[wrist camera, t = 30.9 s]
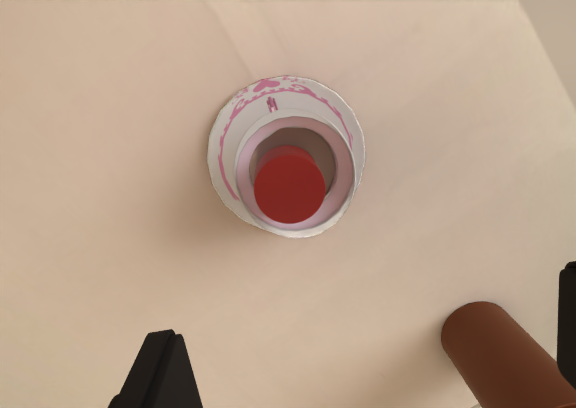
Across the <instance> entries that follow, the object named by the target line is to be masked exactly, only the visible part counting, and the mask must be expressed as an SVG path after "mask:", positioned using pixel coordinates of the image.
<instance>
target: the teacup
mask: <svg viewBox="0 0 576 408" xmlns="http://www.w3.org/2000/svg"><path fill="white" fill-rule="evenodd" d="M283 145H291V146H296V147H299V148H301V149H303V150H305V151H306V152H307V153H309V154H310V155H311V157H312V158H313V159H314V161H315V163H316V164H317V166H318V168H319V169H320V171H321V173H322V175H323V177H324V181H325V187H326V189H325V197H324V200H323V203H322V205H321V206H320V208H319V209H318V211H317V212H316V213H315V214H314V215H313V216H311V217H310V218H308V219H307V220H305V221H302V222H299V223H294V224H284V223H279V222H276V221H274V220H272V219H270V218H269V217H267V216H266V215H265V214H264V213H263V212H262V211H261V210H260V208H259V207H258V205H257V203H256V200H255V196H254V179H255V170H256V167H257V164H258V162H259V160H260V159H261V158H262V156H263V155H264V154H265V153H267V152H268V151H269V150H271V149H273V148H275V147H278V146H283ZM365 159H366V155H365V145H364V135H363V132H362V129H361V127H360V125H359V123H358V120H357V118H356V116H355V114H354V112H353V110H352V109H351V108H350V107H349V106H348V105H347V103H346V102H345V101H344V100H343V99H342V98H341V97H340V96H339V95H338V94H337V93H336V92H335V91H333V90H331V89H329V88H328V87H326V86H324V85H322V84H320V83H318V82H316V81H315V80H312V79H306V78H300V77H294V76H288V75H286V76H279V77H273V78H267V79H261V80H259V81H257V82H255V83H254V84H252V85H250V86H248V87H246V88H244V89H242V90H241V91H239V92H237V93H236V94H235V96H234V97H233V98H232V99H231V100H230V101H229V102H228V103H227V104H226V105H225V106H224V107H223V108H222V109H221V110H220V112H219V114H218V116H217V118H216V121H215V123H214V125H213V127H212V129H211V132H210V134H209V141H208V151H207V164H208V168H209V173H210V177H211V182H212V185H213V186H214V188H215V190H216V191H217V193H218V195H219V196H220V198H221V200H222V202H223V203H224V205H225V206H227V207H228V208H229V209H230V210H231V211H232V212H233V213H234V214H235V215H237V216H238V217H239V218H240V219H241V220H242V221H245V222H247V223H249V224H251V225H253V226H256V227H258V228H260V229H262V230H267V231H270V232H272V233H274V234H277V235H280V236H283V237H288V238H308V237H312V236H315V235H318V234H321V233H323V232H324V231H326V230H328V229H329V228H331V227H332V226H333V225H334V224H335V223H337V222H338V220H339V219H340V218H341V217H342V216H343V214H344V213H345V212H346V210H347V208H348V207H349V205H350V202H351V200H352V197H353V194H354V192H355V191H356V189H357V187H358V185H359V184H360V182H361V178H362V173H363V168H364V164H365Z"/></svg>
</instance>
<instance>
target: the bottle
mask: <svg viewBox="0 0 576 408" xmlns="http://www.w3.org/2000/svg"><path fill="white" fill-rule="evenodd" d="M441 341H442V345H443V348H444V350H445V352H446V353H447V355H448V356H449V358H450V359H451V361H452V362H453V364H454V365H455V367H456V368H457V370H458V371H459V373H460V374H461V376H462V377H463V379H464V381H465V382H466V384H467V385H468V387H469V388H470V390H471V391H472V393H473V394H474V396H475V397H476V399H477V400H478V402H479V403H480V405H481V407H482V408H576V390H575V389H574V388H573V387H572V386H571V385H570V384H569V383H568V382H567V381H566V380H565V379H564V377H563V376H562V375H561V373H560V371H559V369H558V365H557V362H556V361H555V360H554V359H553V358H552V357H551V356H550V355H549V354H548V353H547V352H546V351H545V350H544V349H543V348H542V347H541V346H540V345H539V344H538V343H537V342H536V341H535V340H534V339H533V338H532V337H531V336H530V335H529V334H528V333H527V332H526V331H525V330H524V329H523V328H522V327H521V326H520V325H519V324H518V323H517V322H516V321H515V320H514V319H513V318H512V317H511V316H510V315H509V314H508V313H507V312H506V311H505V310H504V309H502V308H501V307H500V306H498V305H496V304H493V303H489V302H474V303H470V304H467V305H465V306H463V307H461V308H459V309H458V310H456V311H455V312H454V313H453V314H452V315H451V316H450V317H449V318H448V319H447V321H446V323H445V324H444V327H443V330H442V335H441Z"/></svg>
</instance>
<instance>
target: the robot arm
mask: <svg viewBox="0 0 576 408" xmlns="http://www.w3.org/2000/svg"><path fill="white" fill-rule="evenodd" d="M557 365H558V369H559V371H560V373H561V375H562V376H563V377H564V379H565V380H566V381H567V382H568V383H569V384H570V385H571V386H572V387H573V388H574V389H575V390H576V261H574V262H569V263H568V264H567V265H566V266H565V269H563V270H561V272H560V275H559V302H558V336H557ZM108 408H203V406H202V403H201V399H200V395H199V392H198V388H197V385H196V381H195V378H194V374H193V371H192V367H191V363H190V360H189V356H188V353H187V349H186V346H185V342H184V339H183V336H182V335H181V334H176V335H175V332H174V331H173V330H172V329H170V330H164V331H158V332H152V333H148V335H147V336H146V338H145V340H144V342H143V345H142V347H141V349H140V351H139V353H138V355H137V357H136V359H135V362H134V364H133V366H132V368H131V370H130V372H129V374H128V376H127V379H126V381H125V383H124V385H123V387H122V389H121V391H120V393H119V394H118V395H116V396H115V397H114V398H113V399H112V401H111V402H110V404H109V406H108Z"/></svg>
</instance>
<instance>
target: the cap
mask: <svg viewBox="0 0 576 408" xmlns="http://www.w3.org/2000/svg"><path fill="white" fill-rule="evenodd" d="M325 189H326V187H325V181H324V177H323V175H322V173H321V171H320V169H319V168H318V166H317V164H316V163H315V161H314V159H313V158H312V157H311V155H310V154H309V153H307V152H306V151H305V150H303V149H301V148H299V147H296V146H291V145H283V146H278V147H275V148H273V149H271V150H269V151H268V152H267V153H265V154H264V155H263V156H262V158H261V159H260V160H259V162H258V164H257V167H256V170H255V179H254V196H255V200H256V203H257V205H258V207H259V208H260V210H261V211H262V212H263V213H264V214H265V215H266V216H267V217H269V218H270V219H272V220H274V221H276V222H279V223H284V224H294V223H299V222H302V221H305V220H307V219H308V218H310V217H311V216H313V215H314V214H315V213H316V212H317V211H318V209H319V208H320V206H321V205H322V203H323V200H324V197H325Z"/></svg>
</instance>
